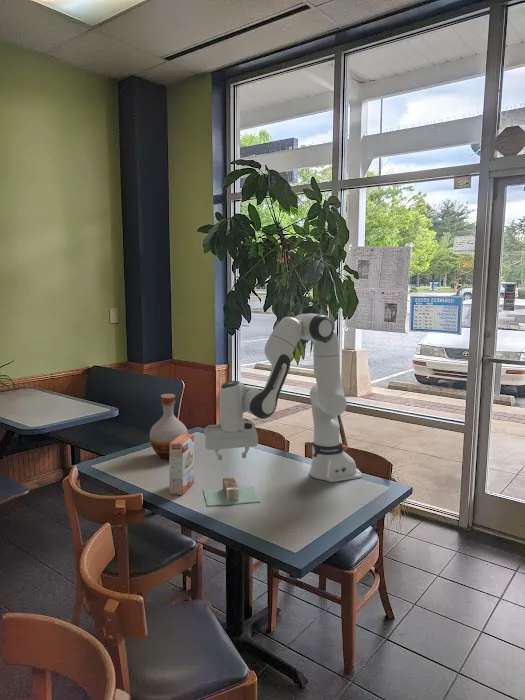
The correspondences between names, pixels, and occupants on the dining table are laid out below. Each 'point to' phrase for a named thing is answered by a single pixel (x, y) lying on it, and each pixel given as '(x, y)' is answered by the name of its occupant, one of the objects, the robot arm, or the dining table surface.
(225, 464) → the dining table surface
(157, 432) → the jug
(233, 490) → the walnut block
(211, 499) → the rubber mat
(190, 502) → the dining table surface
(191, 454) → the cracker box
